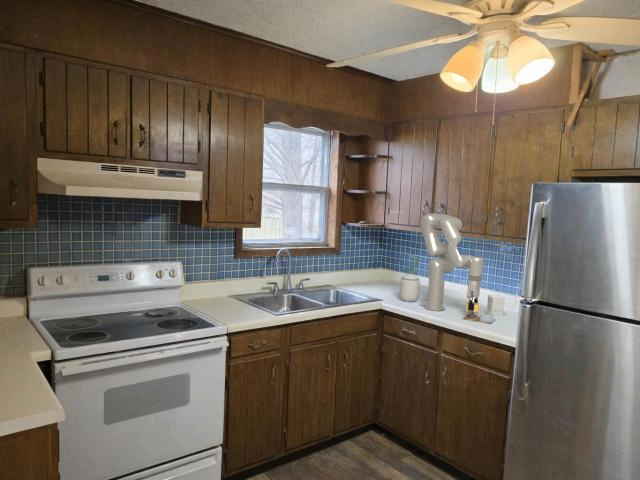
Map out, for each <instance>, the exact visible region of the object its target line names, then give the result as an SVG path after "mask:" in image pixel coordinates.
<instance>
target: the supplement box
mask: <svg viewBox="0 0 640 480" xmlns="http://www.w3.org/2000/svg"><path fill="white" fill-rule="evenodd" d="M486 304H487V305H486V306H487V307H486V311H489V313H491V314H493V315H494V318H495V317H497V318H498V317H500V318H503V317H504V310H505V297H503V295H499V294H498V295H497V294H496V295H494V294H493V295H492V294H488V295H487V303H486Z"/></svg>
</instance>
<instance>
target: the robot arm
mask: <svg viewBox="0 0 640 480" xmlns="http://www.w3.org/2000/svg"><path fill="white" fill-rule="evenodd" d="M434 228H440V229H441V230H442V234H443V235H444V236H445V239H446V241H447V242H446V241H440V239H439V236H438V235H439V234H438V233H437V231H436V230H435V229H434ZM462 228H463V222H462V220H461V219H460V218H458V217H455V216H452V215H449V214H445V213H427V214H424V216H422V218H421V220H420V229H421V233H422V236H423V238H424V240H423V241H424V243H425V247H426V252H427V255H428V256H429V257H431V258H432V259H431V260H429V263H428V266H427V271H428V286H427V287H428V289H427V298H426V299H427V300H426V299H425V300H424V299H421V300H420V303H421V304H424V306H423V308H424V309H426V310H429V311H434V312H438V311H439V312H442V311H445V310H446V308H445V306H444V305H443V304H444V293H445V278H444V274H450V273H452V272H453V271H454V270H455V268H457V269H468V277H467V278H468V279H467V281H468V286H467V292H466V298H467V299H468V302H469V303H468V310H472V311H473V310H474V303H478V302H479V298H480V291H481V283H482V282H483V272H484V271H483V270H484V258H482V257H480V256H474V255H470V254H460V252H459V250H458V244H459V243H461V241H462V240H463V238H462V235H461V233H460V231H461V230H462ZM433 258H434V259H433ZM478 304H479V303H478ZM468 310H467V311H468Z"/></svg>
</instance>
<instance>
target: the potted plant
mask: <svg viewBox="0 0 640 480" xmlns="http://www.w3.org/2000/svg"><path fill="white" fill-rule="evenodd" d="M407 256H408V257H410V258H412V259H414V262H413V263H414V264H413V266H406V267H405V268H406V269H408V271H407V272H406V274H404V275H403V276H401V279H400V286H399V297H400V300H402V302H404V303H405V302H407V303H415V302H417V301H418V300H419V296H420V284H421V283H420V282H421V281H420V278H419V277H418V276H417V275H416V274H415V272H414V270H415V269H417V268H418V267H419V266H418V265H419V257H418V256H416V255H414V254H411V253H410V254H409V253H408V254H407Z"/></svg>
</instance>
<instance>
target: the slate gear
mask: <svg viewBox="0 0 640 480" xmlns="http://www.w3.org/2000/svg"><path fill="white" fill-rule="evenodd" d="M479 317H480V321H484V322H493V321H494V318H495V316H494V315H493V314H491V313H489V314H486V311H485V312H484V311H483V312H480V313H479ZM494 322H495V321H494ZM494 322H493V323H494Z"/></svg>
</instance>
